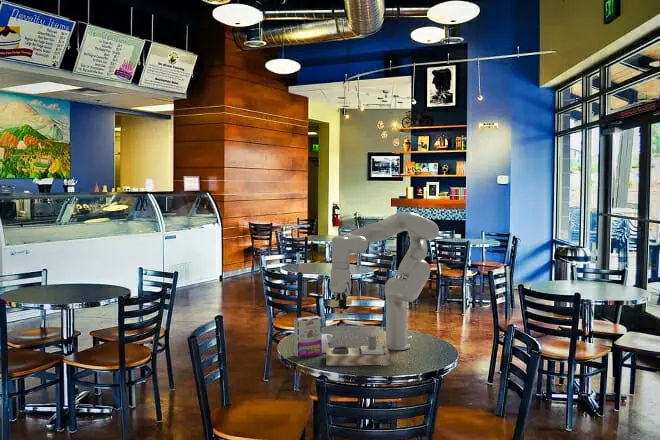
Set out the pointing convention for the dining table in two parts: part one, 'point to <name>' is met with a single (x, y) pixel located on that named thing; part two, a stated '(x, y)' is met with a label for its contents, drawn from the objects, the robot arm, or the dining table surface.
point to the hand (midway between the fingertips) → (341, 307)
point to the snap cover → (372, 347)
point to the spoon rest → (325, 341)
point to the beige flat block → (355, 357)
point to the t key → (336, 303)
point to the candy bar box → (307, 336)
